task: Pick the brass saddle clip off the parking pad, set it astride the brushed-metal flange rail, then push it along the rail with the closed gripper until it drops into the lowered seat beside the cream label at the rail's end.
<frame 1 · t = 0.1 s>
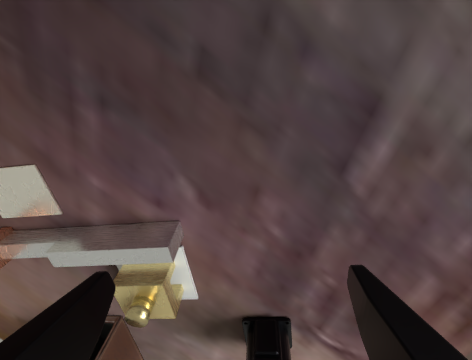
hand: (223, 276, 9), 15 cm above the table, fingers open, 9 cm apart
flange rail: (181, 228, 27), on the table
letter holder: (114, 349, 42), on the table
clip saddle: (155, 276, 31), resting on parking pad
parking pad: (156, 274, 31), on the table
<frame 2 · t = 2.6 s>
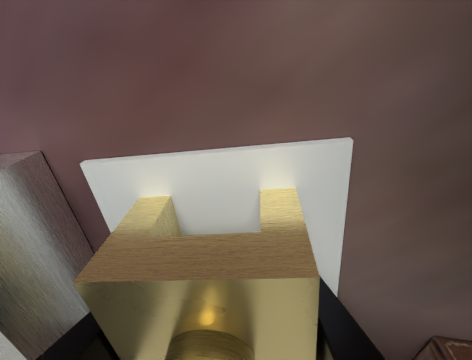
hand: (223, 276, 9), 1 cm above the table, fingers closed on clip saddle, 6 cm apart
flange rail: (15, 153, 9), on the table
clip saddle: (226, 255, 10), resting on parking pad, touching gripper
parking pad: (226, 250, 10), on the table
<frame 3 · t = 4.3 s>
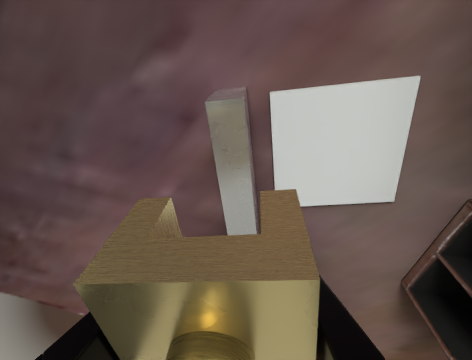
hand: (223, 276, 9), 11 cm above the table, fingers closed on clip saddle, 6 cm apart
flange rail: (231, 88, 16), on the table
clip saddle: (226, 256, 10), point 10 cm above the table, touching gripper
parking pad: (336, 150, 18), on the table
when the fingers open (3 cm above the table, at t = 6.0 s): clip saddle stays where it is, resting on flange rail.
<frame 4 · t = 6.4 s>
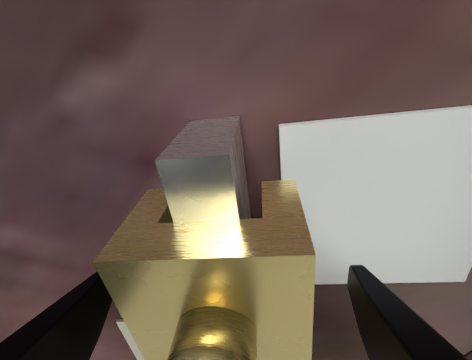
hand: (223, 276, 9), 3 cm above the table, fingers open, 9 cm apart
flange rail: (214, 118, 10), on the table
clip saddle: (229, 245, 11), point 2 cm above the table, touching flange rail
parking pad: (381, 210, 11), on the table
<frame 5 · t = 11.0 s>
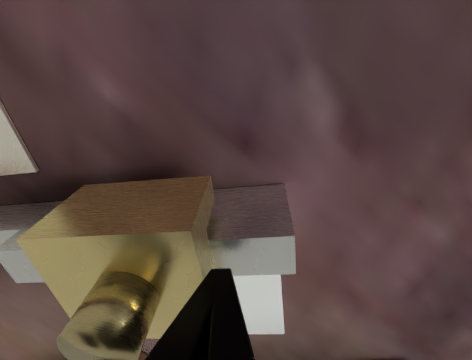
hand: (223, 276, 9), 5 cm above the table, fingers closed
flange rail: (284, 200, 13), on the table
clip saddle: (161, 229, 12), point 2 cm above the table, touching gripper
parking pad: (215, 291, 17), on the table
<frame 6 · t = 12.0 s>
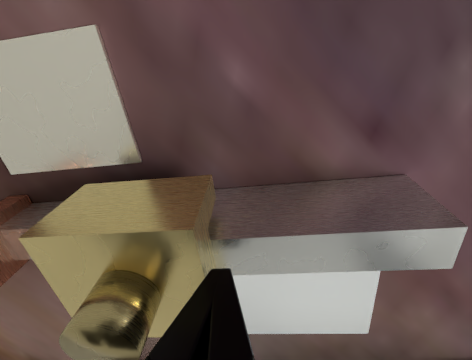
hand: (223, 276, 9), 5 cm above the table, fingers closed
flange rail: (402, 192, 13), on the table
clip saddle: (162, 228, 12), point 2 cm above the table, touching gripper
parking pad: (302, 288, 16), on the table
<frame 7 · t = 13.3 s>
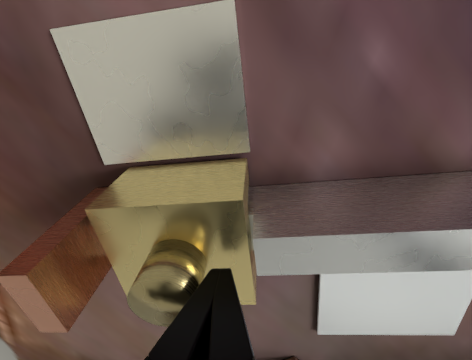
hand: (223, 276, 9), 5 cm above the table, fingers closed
clip saddle: (197, 209, 14), resting in flange rail, touching gripper
parking pad: (392, 287, 16), on the table
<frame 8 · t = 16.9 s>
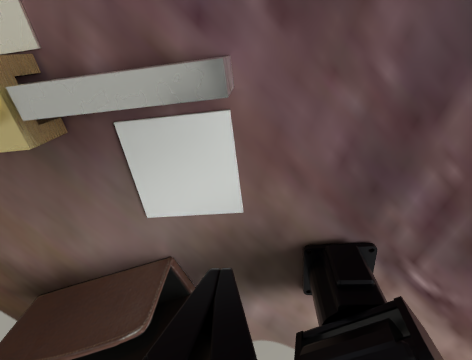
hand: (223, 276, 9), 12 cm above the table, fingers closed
flange rail: (232, 71, 17), on the table
letter holder: (126, 300, 31), on the table
clip saddle: (15, 100, 19), resting in flange rail
parking pad: (184, 169, 21), on the table
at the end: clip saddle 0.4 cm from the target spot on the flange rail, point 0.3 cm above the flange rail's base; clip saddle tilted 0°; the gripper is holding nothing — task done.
